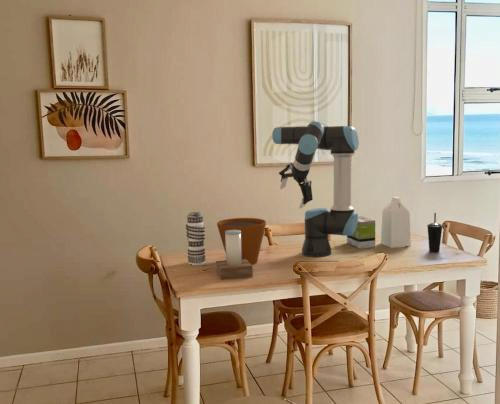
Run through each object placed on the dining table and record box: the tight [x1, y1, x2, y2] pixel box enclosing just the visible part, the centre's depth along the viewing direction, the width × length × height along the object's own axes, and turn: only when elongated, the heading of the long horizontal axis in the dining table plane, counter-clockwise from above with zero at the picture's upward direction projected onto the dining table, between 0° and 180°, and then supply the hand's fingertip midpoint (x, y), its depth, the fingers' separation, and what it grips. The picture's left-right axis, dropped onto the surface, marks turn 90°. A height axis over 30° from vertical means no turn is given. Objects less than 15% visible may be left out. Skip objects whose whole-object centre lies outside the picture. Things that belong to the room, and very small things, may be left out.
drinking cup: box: [426, 212, 444, 254], centre depth 285 cm, size 8×8×20 cm
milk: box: [380, 196, 412, 249], centre depth 302 cm, size 12×12×26 cm
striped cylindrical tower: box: [185, 211, 206, 266], centre depth 274 cm, size 9×9×25 cm
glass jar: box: [225, 230, 242, 266], centre depth 251 cm, size 7×7×15 cm
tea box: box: [346, 215, 376, 249], centre depth 304 cm, size 15×10×15 cm
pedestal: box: [215, 259, 253, 280], centre depth 253 cm, size 14×14×5 cm
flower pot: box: [216, 217, 267, 266], centre depth 274 cm, size 24×24×20 cm
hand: (292, 197), depth 258 cm, fingers open, 13 cm apart
